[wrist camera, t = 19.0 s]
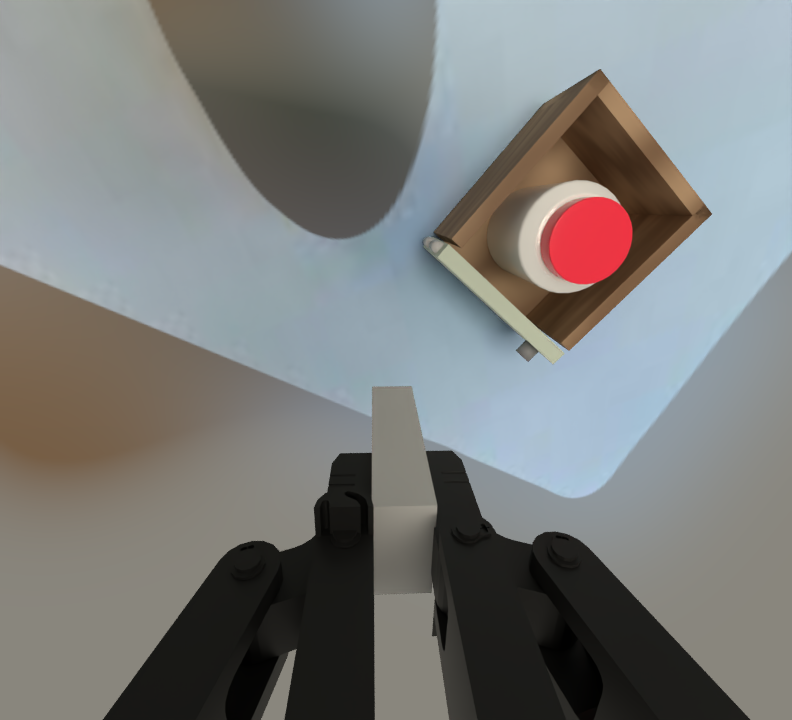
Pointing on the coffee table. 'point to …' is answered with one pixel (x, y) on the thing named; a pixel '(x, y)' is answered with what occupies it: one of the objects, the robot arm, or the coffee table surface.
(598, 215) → the pill bottle
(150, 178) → the coffee table surface
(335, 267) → the coffee table surface
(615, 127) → the box
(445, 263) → the door
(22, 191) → the coffee table surface
